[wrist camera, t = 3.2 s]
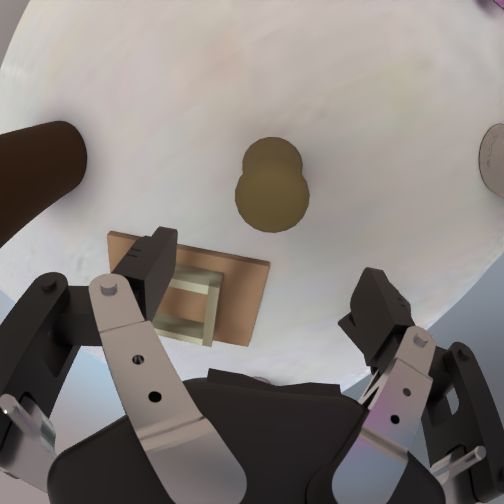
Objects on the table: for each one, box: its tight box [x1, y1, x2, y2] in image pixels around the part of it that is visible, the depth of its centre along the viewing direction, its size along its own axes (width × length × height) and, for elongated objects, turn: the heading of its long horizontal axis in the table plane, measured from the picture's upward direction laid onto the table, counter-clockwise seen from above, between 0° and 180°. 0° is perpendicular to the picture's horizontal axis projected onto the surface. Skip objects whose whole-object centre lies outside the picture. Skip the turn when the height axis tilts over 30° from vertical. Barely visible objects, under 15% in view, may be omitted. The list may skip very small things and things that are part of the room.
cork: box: [235, 137, 310, 233], centre depth 23 cm, size 6×6×11 cm
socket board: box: [107, 231, 270, 347], centre depth 35 cm, size 20×14×4 cm
